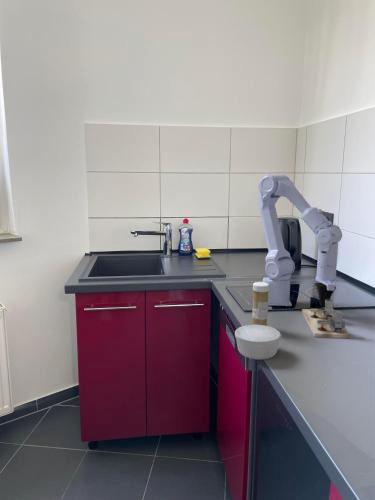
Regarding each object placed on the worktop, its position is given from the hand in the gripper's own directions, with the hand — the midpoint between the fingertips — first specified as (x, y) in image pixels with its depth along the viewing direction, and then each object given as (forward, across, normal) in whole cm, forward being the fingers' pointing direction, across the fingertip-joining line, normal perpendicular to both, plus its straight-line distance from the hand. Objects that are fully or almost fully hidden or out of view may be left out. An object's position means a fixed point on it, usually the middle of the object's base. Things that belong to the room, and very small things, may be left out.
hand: (323, 305), depth 125 cm
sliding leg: (+2, -6, +2) cm, 6 cm away
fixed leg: (+2, -16, +2) cm, 16 cm away
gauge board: (+3, -8, +2) cm, 9 cm away
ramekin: (+3, -30, +23) cm, 37 cm away
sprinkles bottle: (+3, -14, +21) cm, 25 cm away
